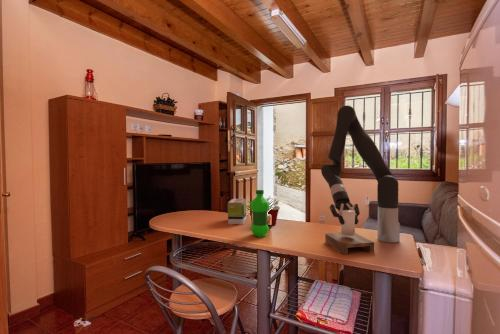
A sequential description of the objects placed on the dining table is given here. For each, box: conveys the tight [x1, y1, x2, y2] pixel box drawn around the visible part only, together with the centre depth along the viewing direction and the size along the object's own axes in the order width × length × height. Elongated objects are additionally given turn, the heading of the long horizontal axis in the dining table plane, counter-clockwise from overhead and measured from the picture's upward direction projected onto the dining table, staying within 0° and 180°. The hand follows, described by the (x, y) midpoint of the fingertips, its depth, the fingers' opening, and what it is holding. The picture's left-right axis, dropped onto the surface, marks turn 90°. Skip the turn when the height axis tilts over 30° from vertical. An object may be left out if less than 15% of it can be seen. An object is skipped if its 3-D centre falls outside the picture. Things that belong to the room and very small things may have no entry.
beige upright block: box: [340, 209, 356, 236], centre depth 123 cm, size 6×6×11 cm
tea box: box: [227, 198, 247, 226], centre depth 174 cm, size 15×10×15 cm
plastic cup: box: [268, 205, 280, 227], centre depth 165 cm, size 11×11×12 cm
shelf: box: [324, 232, 375, 256], centre depth 123 cm, size 15×17×4 cm
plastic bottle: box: [249, 189, 270, 238], centre depth 143 cm, size 10×10×25 cm
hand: (349, 223), depth 122 cm, fingers closed on beige upright block, 6 cm apart
